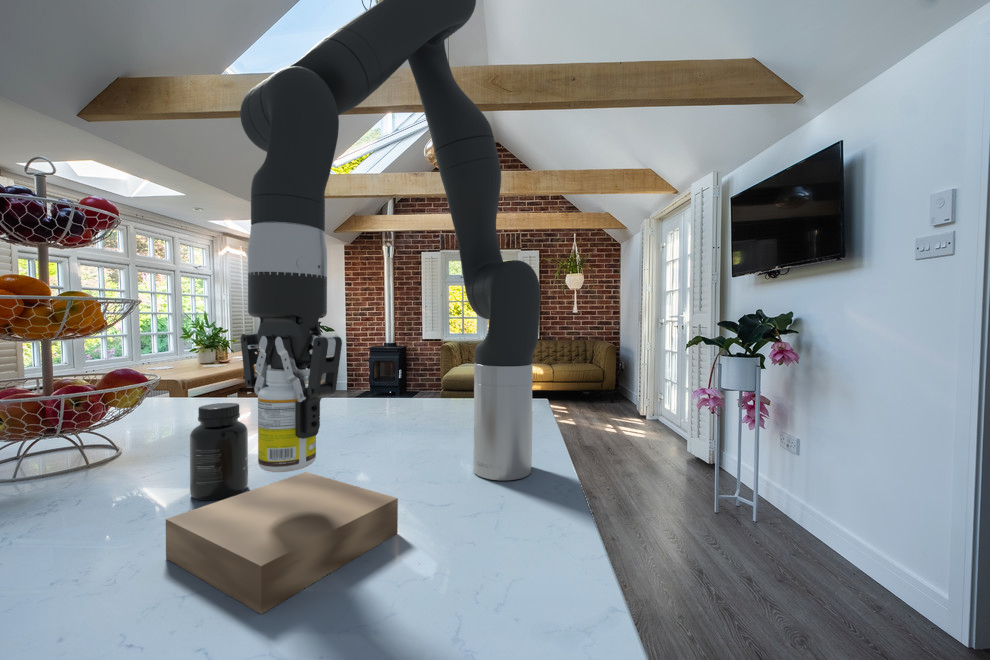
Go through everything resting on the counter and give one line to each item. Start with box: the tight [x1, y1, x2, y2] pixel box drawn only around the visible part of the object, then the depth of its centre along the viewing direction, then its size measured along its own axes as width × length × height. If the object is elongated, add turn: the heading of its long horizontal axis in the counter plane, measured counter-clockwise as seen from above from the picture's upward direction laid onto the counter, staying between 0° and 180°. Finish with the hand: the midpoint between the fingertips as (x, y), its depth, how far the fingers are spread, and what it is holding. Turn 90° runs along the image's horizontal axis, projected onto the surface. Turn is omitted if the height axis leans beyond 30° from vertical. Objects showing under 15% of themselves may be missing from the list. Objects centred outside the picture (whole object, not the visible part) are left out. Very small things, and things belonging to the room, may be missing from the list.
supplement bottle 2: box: [257, 367, 317, 473], centre depth 47 cm, size 6×6×10 cm
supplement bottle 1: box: [189, 402, 249, 501], centre depth 61 cm, size 7×7×12 cm
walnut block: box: [165, 471, 399, 615], centre depth 47 cm, size 16×16×4 cm
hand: (288, 431), depth 47 cm, fingers closed on supplement bottle 2, 5 cm apart
